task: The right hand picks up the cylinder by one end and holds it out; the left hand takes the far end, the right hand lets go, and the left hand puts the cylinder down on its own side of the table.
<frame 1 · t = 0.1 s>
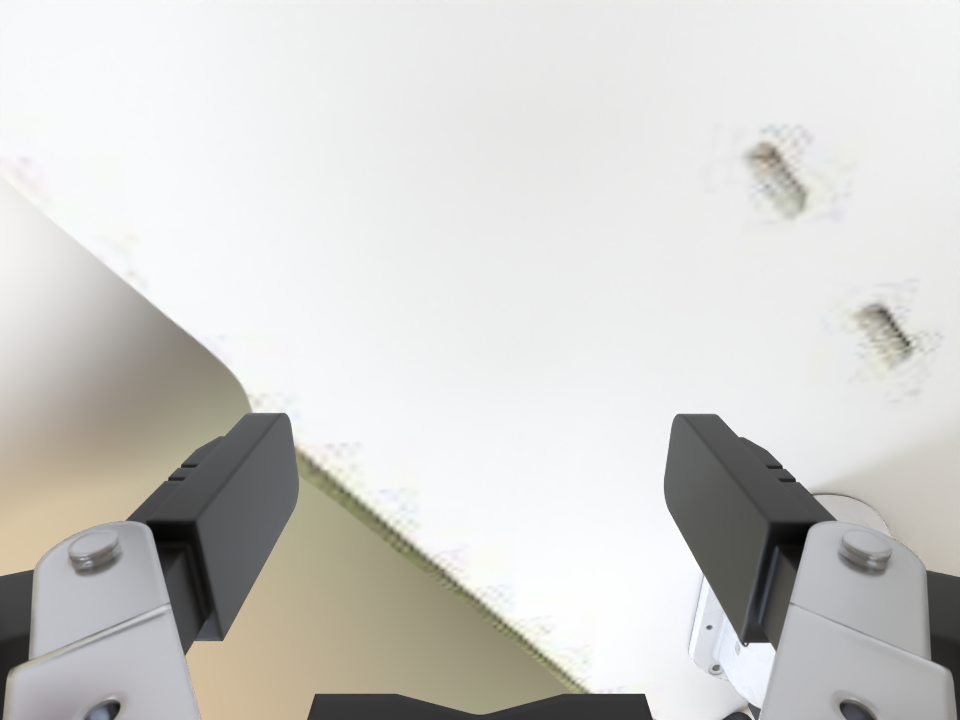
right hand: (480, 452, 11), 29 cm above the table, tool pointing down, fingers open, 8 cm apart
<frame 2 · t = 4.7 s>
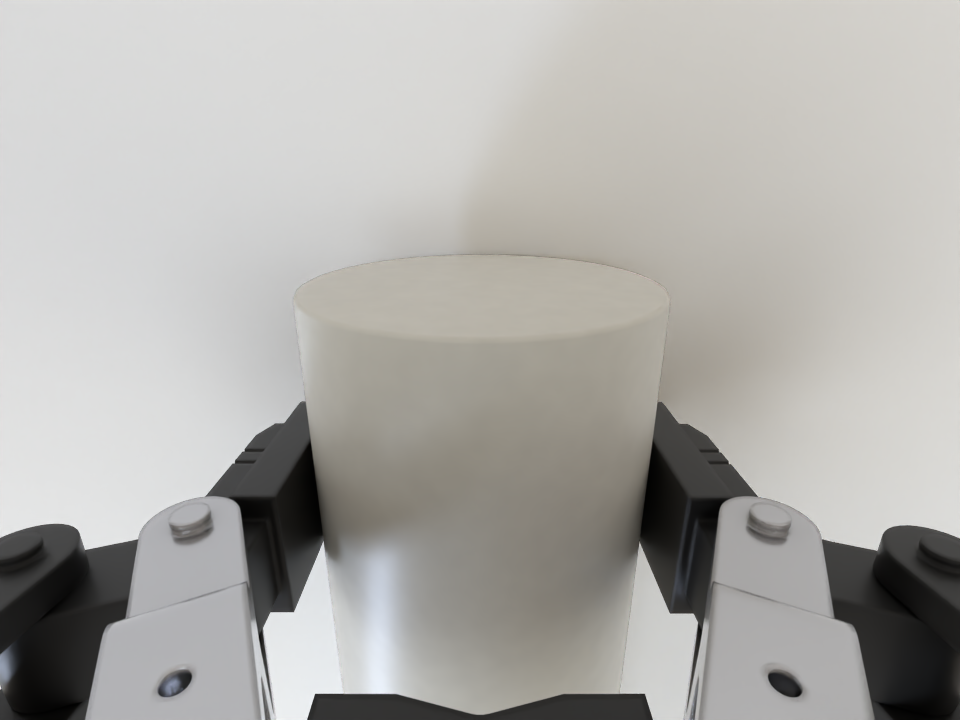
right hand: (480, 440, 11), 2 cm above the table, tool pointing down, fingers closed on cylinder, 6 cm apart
cylinder: (481, 674, 16), on the table, touching right hand
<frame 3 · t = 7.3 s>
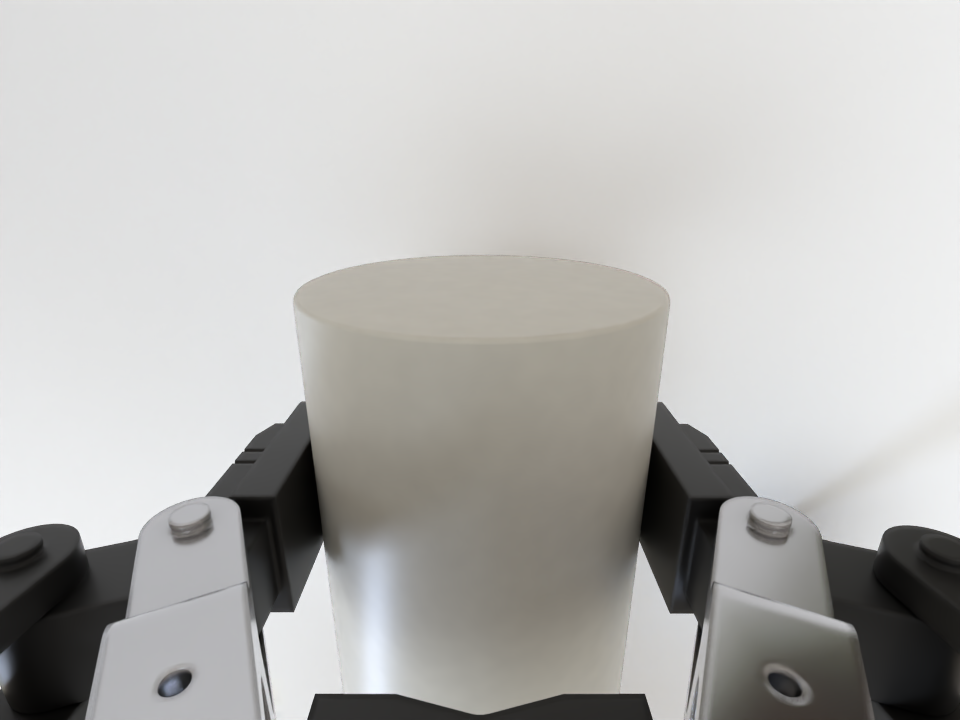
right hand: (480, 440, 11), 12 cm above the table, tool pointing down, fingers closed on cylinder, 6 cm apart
cylinder: (480, 675, 16), point 10 cm above the table, touching right hand
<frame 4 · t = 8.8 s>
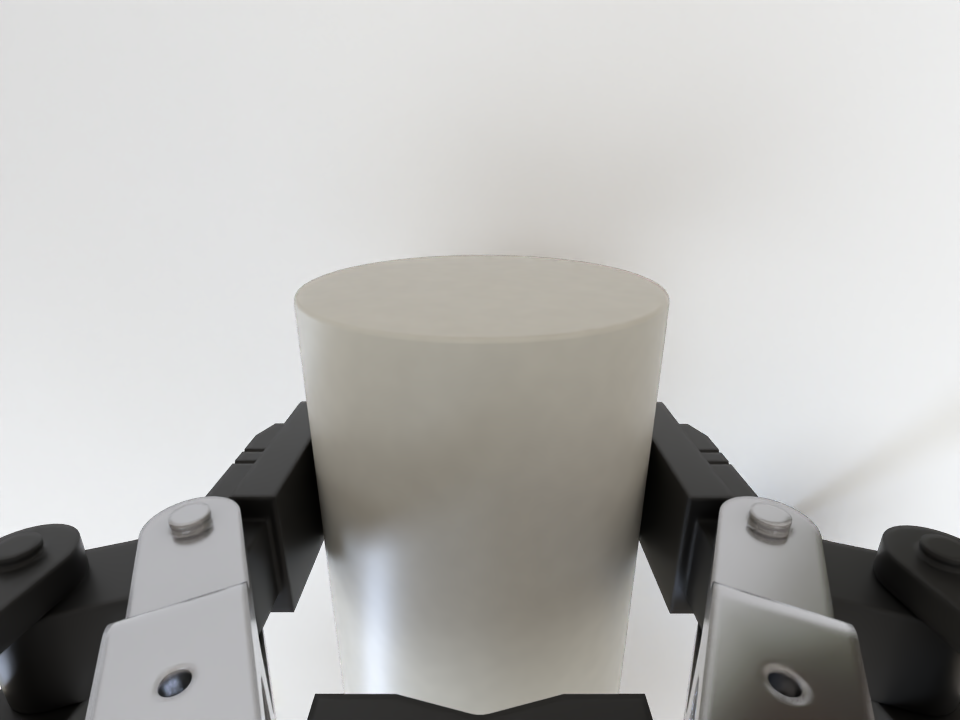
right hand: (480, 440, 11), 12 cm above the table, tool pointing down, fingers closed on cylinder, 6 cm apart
cylinder: (481, 674, 16), point 10 cm above the table, touching right hand, left hand
when the right hand's fingers open (12 cm above the table, at t = 10.0 s): cylinder moves 2 cm, held by the left hand.
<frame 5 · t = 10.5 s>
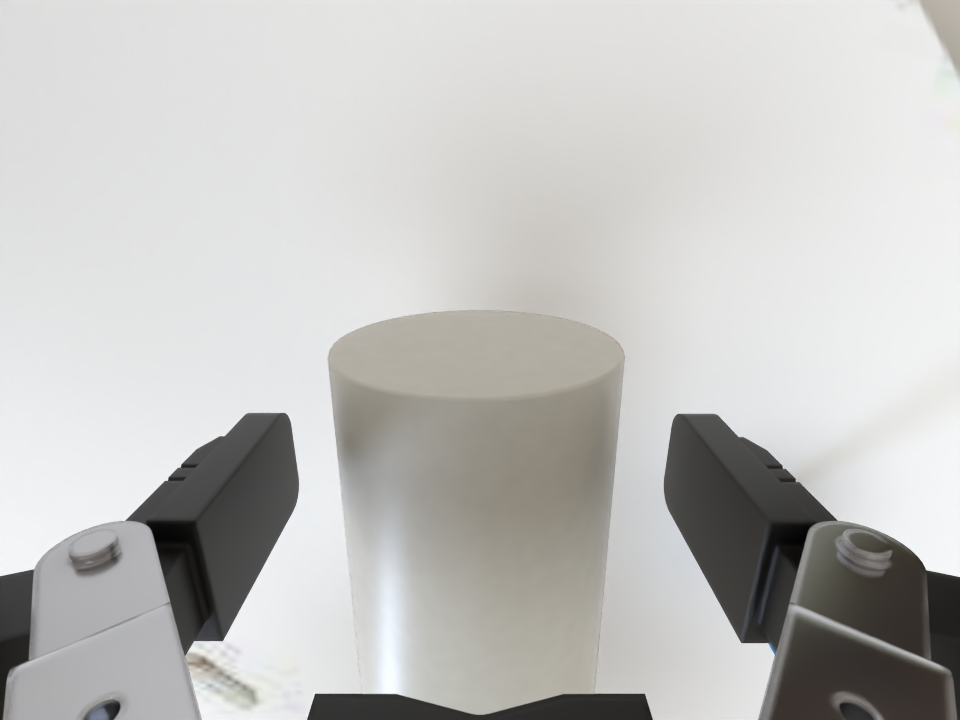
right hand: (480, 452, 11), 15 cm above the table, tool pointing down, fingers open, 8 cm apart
cylinder: (479, 676, 18), point 12 cm above the table, touching left hand
when the left hand's fingers open (4 cm above the table, at t = 16.8 s): cylinder stays where it is, on the table.
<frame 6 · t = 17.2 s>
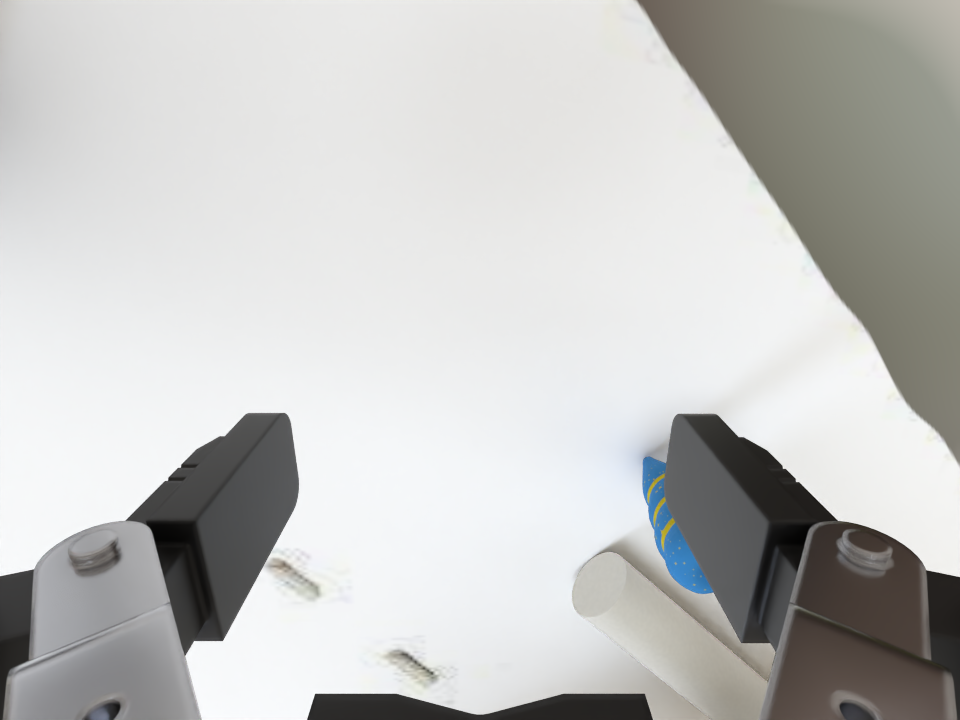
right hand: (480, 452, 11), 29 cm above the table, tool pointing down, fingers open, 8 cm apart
cylinder: (679, 632, 51), on the table
ornament: (647, 456, 44), on the table
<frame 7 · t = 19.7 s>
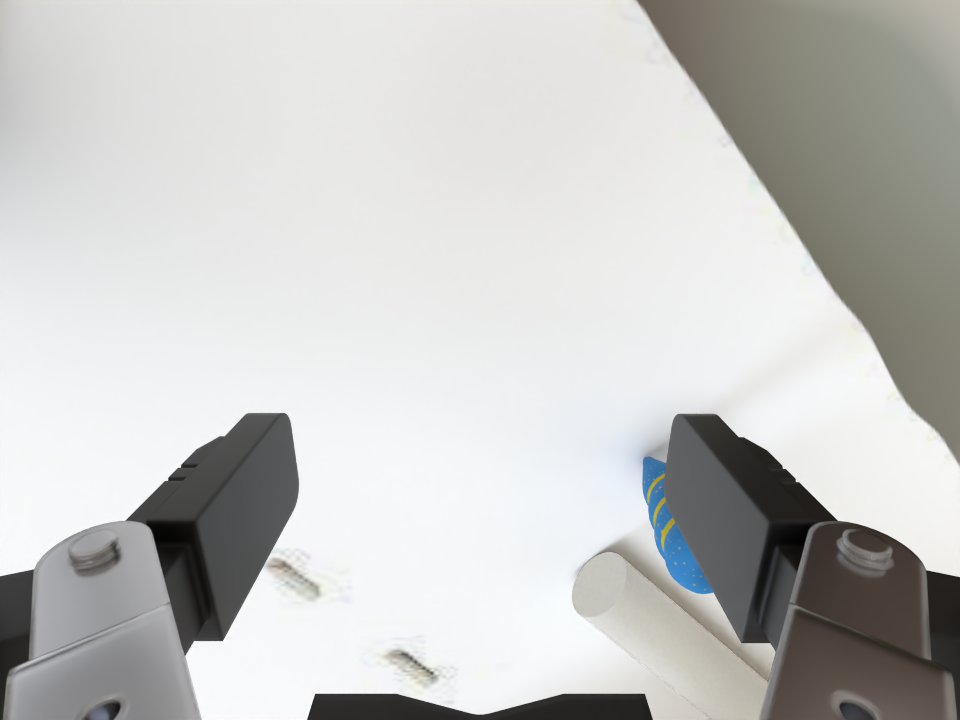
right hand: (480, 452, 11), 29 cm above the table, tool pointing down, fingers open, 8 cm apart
cylinder: (679, 632, 51), on the table
ornament: (647, 456, 44), on the table
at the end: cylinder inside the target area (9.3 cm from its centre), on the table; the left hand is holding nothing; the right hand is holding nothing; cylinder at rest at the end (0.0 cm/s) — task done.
